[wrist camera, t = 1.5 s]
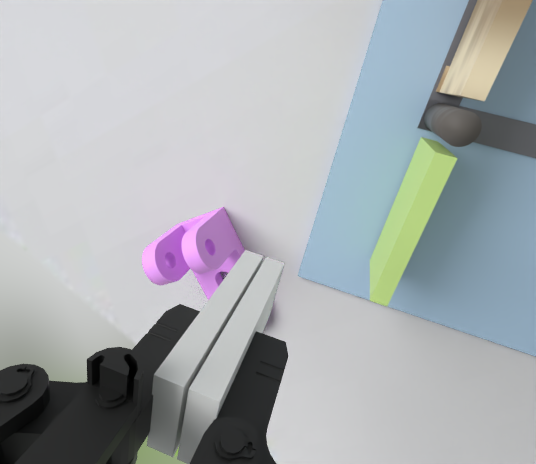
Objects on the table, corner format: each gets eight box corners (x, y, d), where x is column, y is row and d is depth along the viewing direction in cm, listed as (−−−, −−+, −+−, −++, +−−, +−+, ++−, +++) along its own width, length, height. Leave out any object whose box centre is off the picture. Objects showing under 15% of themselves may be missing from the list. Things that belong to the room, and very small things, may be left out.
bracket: (177, 223, 34) (134, 255, 28) (224, 206, 32) (189, 236, 26) (233, 329, 37) (206, 377, 31) (278, 319, 35) (259, 370, 29)
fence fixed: (499, -74, 20) (565, -152, 13) (532, -68, 20) (615, -146, 13) (418, 125, 25) (436, 141, 18) (443, 132, 25) (471, 150, 18)
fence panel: (420, 136, 24) (435, 152, 19) (438, 141, 24) (457, 158, 19) (369, 260, 29) (369, 300, 24) (383, 265, 29) (387, 306, 23)
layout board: (420, -122, 20) (422, -128, 19) (851, -56, 17) (867, -60, 16) (298, 273, 32) (297, 276, 32) (533, 352, 29) (536, 357, 29)
